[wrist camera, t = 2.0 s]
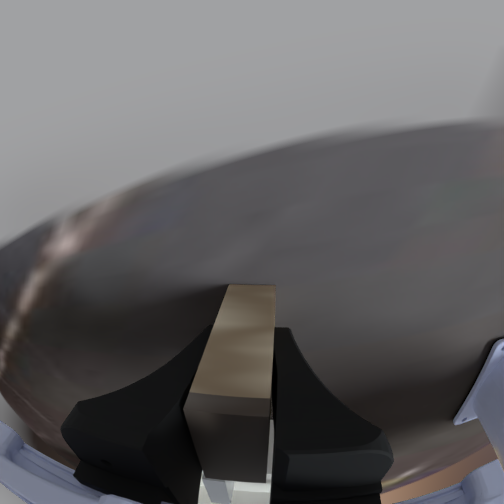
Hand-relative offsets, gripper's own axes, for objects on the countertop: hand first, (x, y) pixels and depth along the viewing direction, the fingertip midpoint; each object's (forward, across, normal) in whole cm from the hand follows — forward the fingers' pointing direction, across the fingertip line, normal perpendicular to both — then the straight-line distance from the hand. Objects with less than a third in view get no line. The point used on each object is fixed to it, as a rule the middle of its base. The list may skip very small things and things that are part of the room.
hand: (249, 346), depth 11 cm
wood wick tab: (+2, 0, 0) cm, 2 cm away
